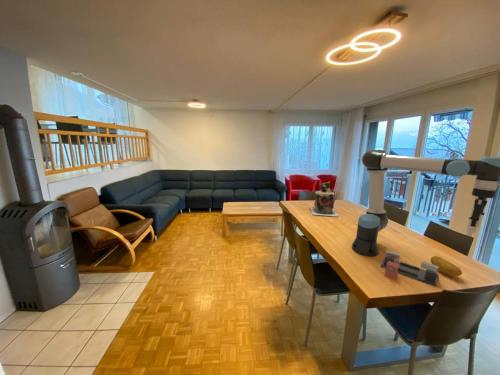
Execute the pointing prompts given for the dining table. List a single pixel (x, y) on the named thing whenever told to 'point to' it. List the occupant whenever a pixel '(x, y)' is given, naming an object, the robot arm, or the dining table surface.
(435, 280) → the bench
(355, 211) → the dining table surface
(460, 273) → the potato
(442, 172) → the robot arm
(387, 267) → the coupling
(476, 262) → the dining table surface
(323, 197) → the cookie jar
